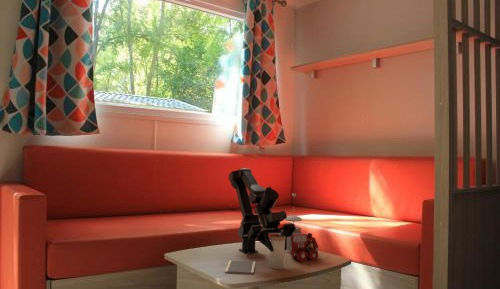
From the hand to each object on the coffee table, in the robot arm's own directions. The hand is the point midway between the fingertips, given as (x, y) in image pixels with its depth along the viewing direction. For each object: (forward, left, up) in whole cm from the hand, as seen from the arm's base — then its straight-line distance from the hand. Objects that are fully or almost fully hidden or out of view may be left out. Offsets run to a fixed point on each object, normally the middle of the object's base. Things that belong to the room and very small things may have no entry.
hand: (279, 250), depth 160 cm
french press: (-22, +20, -7) cm, 31 cm away
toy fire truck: (-8, +17, -7) cm, 20 cm away
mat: (-5, -13, -7) cm, 16 cm away
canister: (-1, 0, -7) cm, 7 cm away
